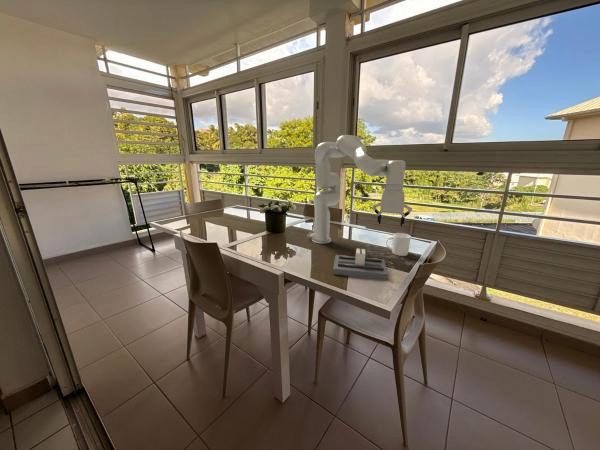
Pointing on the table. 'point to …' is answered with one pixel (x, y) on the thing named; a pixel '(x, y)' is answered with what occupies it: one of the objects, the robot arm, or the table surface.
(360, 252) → the breaker toggle
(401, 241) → the mug
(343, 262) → the breaker panel
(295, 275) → the table surface
